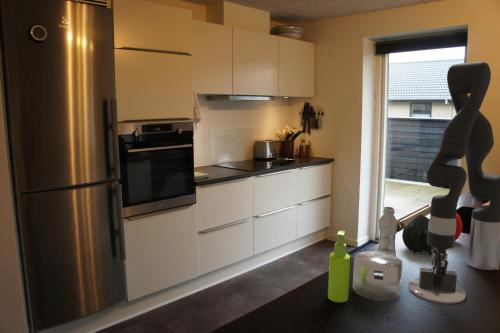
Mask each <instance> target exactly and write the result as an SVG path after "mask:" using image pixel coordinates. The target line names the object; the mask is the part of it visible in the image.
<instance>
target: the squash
mask: <svg viewBox="0 0 500 333" xmlns="http://www.w3.org/2000/svg"><path fill="white" fill-rule="evenodd" d="M429 218H430V217H427V216H426V215H423V214H422V213H420V214H419V215H417V216H415V217H414V218H413V219H412V220H410V221H409V222H408V223H407V224H406V225H405V226H404V228H403V229H402V234H401V238H402V242H403V244H404V246H405V248H407V249H408V250H409V251H410V252H411V253H414V254H419V253H420V254H423V253H427V254H428V255H431V256H432V246H430V245H428V243H427V236H428V225H429Z"/></svg>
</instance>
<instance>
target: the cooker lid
mask: <svg viewBox="0 0 500 333" xmlns="http://www.w3.org/2000/svg"><path fill="white" fill-rule="evenodd" d="M434 272H435V269H432V268H428V267H427V268H426V267H419V274H418V275H419V276H418V277H416V278H413V279H411V280H410V281H409V282H408V290H409V291H410V292H411V293H412V294H413V295H415V296H416V297H418V298H420V299H423V300H426V301H429V302H432V303H437V304H446V305H449V304H450V305H451V304H452V305H454V304H458V303H462V302H464V301H465V300H466V295H467V292H466V290H465V289H464V288H462V287H461V286H459V285H458V284H457V278H458V275H457V273H456V270H455V271H454V270H446V275H445V277H444V276H443V282H442V287H441V288H439V287H435V286H434V277H435V274H434ZM439 272H442V271H439Z"/></svg>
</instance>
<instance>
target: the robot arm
mask: <svg viewBox="0 0 500 333" xmlns="http://www.w3.org/2000/svg"><path fill="white" fill-rule="evenodd" d="M491 77H492V70H491V67H490V65H489V64H488V63H487V62H485V61H475V62H474V61H473V62H464V63H463V62H462V63H455V64H452V65H451V66H449V67H448V70H447V75H446V84H447V87H448V88H447V89H448V92H449V96H450V98H451V100H452V104H453V107H454V110H455V113H456V114H455V115H454V116H453V118H451V119H450V121H449V122H448V124H447V125H446V127H445V129H444V132H443V135H442V139H441V142H440V146H439V147H440V148H439V150H438V152H437V153H436V155H435V157H434V159H433V161H432V162H431V164H430V165H429V168H428V170H427V172H426V181H427V183H428V184H429V185H430V186H431V187H433V188H439V189H447V190H449V192H448V193H447V194H439V195H438V194H437V195H434V196H433V197H432V198H431V201H430V213H429V217H428V218H429V225H428V236H427V243H428V245H430V246H432V255H431V262H430V263H431V269H435V272H434V274H435V277H434V286H435V287H439V288H441V287H442V282H443V276H444V277H445V275H446V270H447V269H448V265H449V262H448V257H449V256H448V255H449V253H447V250H448V249H449V250H450V249H453V248H454V247H455V244H456V243H455V232H456V213H457V209H458V208H457V207H458V204H459V200H460V197H461V194H462V191H463V190H464V187H465V186H466V185H465V184H466V182H467V181H468V188H469V193H470V194H471V195H470V196H472V197H473V198H474V199H479V200H484V201H489V203H488V205H487V206H484V207H477V208H474V209H472V211H471V220H470V232H469V240H468V248H467V249H468V252H467V259H466V260H467V262H466V263H467V265H468V266H470V267H471V268H475V269H476V270H477V269H478V270H483V271H493V270H497V271H498V270H499V266H500V174H493V173H486V172H484V170H483V166H482V165H483V163H484V160H485V159H486V158H487V156H488V155H489V154H490V152H491V151H492V149H493V147H494V143H495V139H494V133H493V128H492V127H493V126H492V123H491V122H490V120H488V118H487V117H486V116H485V115H484V114H483V113H482V112H481V111H480V109H481V107H482V104H483V102H484V100H485V96H486V94H487V92H488V89H489V86H490V83H491ZM464 158H465V162H466V169H465V168H463V167H462V166H460V165H452V164H449V162H451V161H456V160H461V159H464ZM466 171H467V172H466ZM439 271H442V272H439ZM447 271H448V270H447Z"/></svg>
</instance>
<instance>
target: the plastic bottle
mask: <svg viewBox="0 0 500 333" xmlns="http://www.w3.org/2000/svg"><path fill="white" fill-rule="evenodd" d="M382 212H383V214H382V215H381V216H380V218H379V219H378V231H379V233H378V234H379V237H378V238H379V239H378V247H377V250H376V251H381V252H384V253H388V254H391V255H394V256H396V257H397V251H396V235H397V234H396V233H397V230H398V220H397V218H396V216H395V207H392V206H384V207H383V211H382Z"/></svg>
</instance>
